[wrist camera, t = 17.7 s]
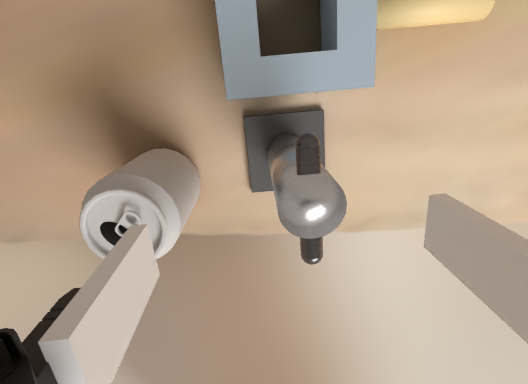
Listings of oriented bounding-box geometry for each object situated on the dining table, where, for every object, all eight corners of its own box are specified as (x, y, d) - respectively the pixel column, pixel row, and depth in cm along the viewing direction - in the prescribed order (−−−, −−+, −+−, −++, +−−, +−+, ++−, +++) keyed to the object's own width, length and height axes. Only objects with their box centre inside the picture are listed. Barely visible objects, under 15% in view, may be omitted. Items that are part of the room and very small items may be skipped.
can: (118, 183, 33) (47, 235, 22) (159, 131, 31) (105, 158, 20) (174, 224, 35) (136, 292, 24) (216, 177, 33) (196, 226, 22)
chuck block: (232, 97, 30) (226, 100, 25) (215, -48, 26) (204, -84, 21) (452, 77, 30) (497, 75, 25) (469, -71, 26) (528, -114, 21)
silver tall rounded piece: (270, 192, 33) (282, 272, 19) (263, 113, 30) (272, 138, 16) (306, 188, 33) (346, 266, 19) (303, 109, 30) (347, 131, 16)
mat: (251, 190, 34) (251, 192, 33) (244, 116, 31) (243, 117, 31) (324, 184, 34) (325, 185, 33) (322, 109, 31) (323, 110, 31)
